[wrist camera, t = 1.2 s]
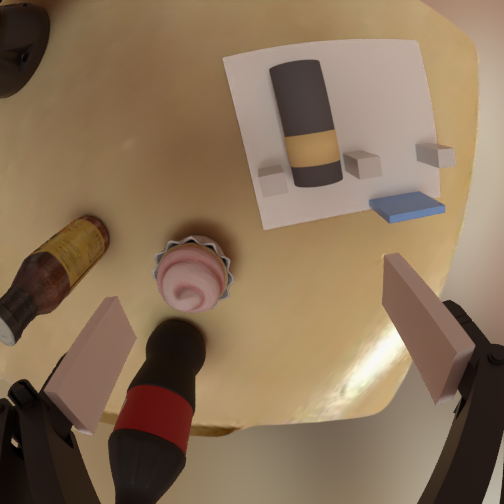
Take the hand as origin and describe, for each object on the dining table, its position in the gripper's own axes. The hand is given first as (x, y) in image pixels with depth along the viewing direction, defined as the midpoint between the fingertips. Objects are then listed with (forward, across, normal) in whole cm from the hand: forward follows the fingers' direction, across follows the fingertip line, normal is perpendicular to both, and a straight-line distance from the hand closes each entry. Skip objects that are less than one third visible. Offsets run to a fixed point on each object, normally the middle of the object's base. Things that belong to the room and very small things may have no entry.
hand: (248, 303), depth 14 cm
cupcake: (+22, -8, -6) cm, 24 cm away
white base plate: (+21, +12, +6) cm, 25 cm away
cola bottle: (+22, -14, -19) cm, 32 cm away
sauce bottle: (+22, -22, -1) cm, 31 cm away
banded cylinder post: (+20, +7, +7) cm, 23 cm away
